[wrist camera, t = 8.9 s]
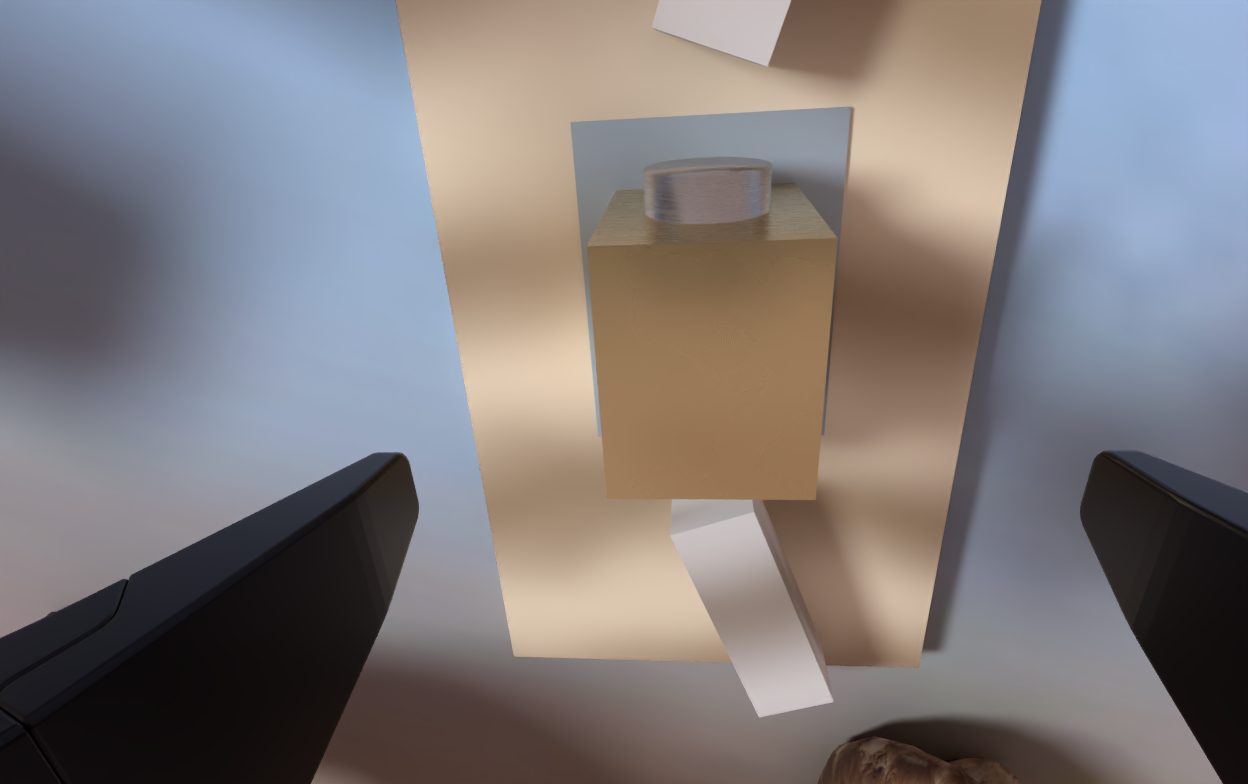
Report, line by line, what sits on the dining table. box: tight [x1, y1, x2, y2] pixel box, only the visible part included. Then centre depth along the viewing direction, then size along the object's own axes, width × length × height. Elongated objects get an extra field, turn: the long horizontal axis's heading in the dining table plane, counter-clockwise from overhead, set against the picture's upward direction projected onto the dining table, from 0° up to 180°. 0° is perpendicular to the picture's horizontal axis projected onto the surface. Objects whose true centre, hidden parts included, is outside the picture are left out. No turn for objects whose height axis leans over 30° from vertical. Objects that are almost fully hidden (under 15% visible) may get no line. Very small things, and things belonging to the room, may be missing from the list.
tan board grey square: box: [396, 0, 1042, 717], centre depth 16 cm, size 25×13×3 cm, turn 4°
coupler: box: [586, 157, 838, 500], centre depth 14 cm, size 7×4×5 cm, turn 3°
